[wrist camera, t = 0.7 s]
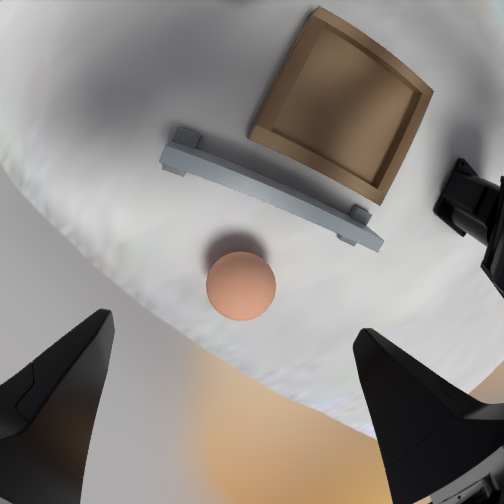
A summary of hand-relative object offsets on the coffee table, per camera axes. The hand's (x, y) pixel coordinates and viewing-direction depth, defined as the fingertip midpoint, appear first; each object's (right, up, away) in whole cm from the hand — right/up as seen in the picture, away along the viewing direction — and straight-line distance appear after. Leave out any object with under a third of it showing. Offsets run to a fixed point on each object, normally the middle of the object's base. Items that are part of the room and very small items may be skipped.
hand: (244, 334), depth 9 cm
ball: (-1, +1, +13) cm, 13 cm away
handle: (+2, +7, +11) cm, 13 cm away
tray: (+7, +13, +8) cm, 17 cm away
